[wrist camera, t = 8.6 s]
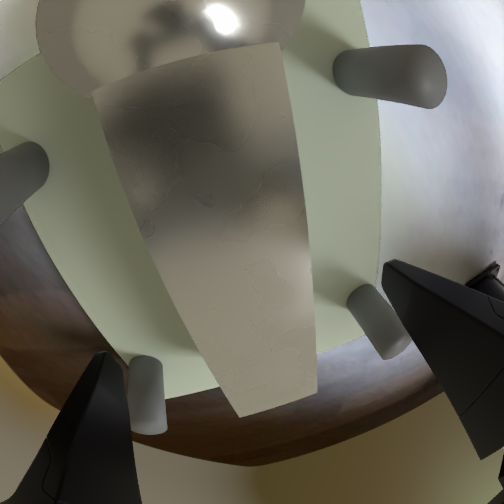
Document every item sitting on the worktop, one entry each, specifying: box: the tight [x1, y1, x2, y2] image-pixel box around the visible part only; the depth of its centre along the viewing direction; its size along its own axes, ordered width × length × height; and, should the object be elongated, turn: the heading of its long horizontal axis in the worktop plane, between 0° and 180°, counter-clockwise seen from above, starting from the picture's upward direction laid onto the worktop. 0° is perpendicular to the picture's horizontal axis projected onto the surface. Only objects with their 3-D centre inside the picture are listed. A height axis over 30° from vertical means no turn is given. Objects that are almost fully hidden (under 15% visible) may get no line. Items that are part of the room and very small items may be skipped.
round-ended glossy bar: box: [36, 0, 317, 417], centre depth 9 cm, size 6×19×4 cm, turn 11°
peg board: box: [0, 0, 447, 435], centre depth 10 cm, size 15×20×5 cm
